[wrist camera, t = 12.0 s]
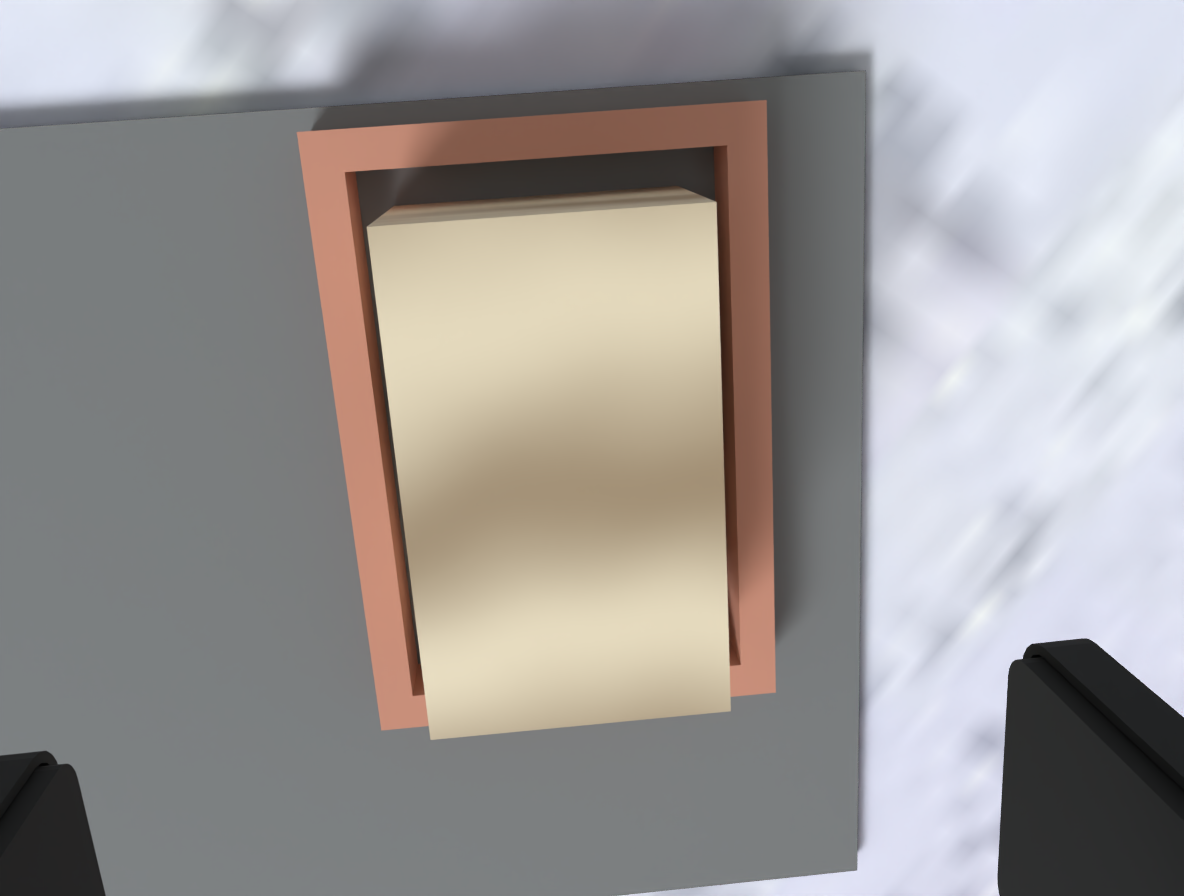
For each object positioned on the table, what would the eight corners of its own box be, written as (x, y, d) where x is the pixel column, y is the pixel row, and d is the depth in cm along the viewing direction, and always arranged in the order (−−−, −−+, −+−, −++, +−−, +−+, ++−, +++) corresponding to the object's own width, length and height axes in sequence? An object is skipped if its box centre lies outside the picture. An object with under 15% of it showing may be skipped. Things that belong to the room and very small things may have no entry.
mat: (-107, 960, 28) (-150, 1020, 26) (-367, 153, 22) (-447, 157, 20) (852, 860, 29) (875, 910, 27) (859, 71, 23) (890, 67, 21)
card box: (394, 205, 22) (366, 226, 18) (677, 185, 23) (716, 202, 19) (444, 634, 25) (431, 740, 21) (694, 612, 26) (731, 711, 22)
